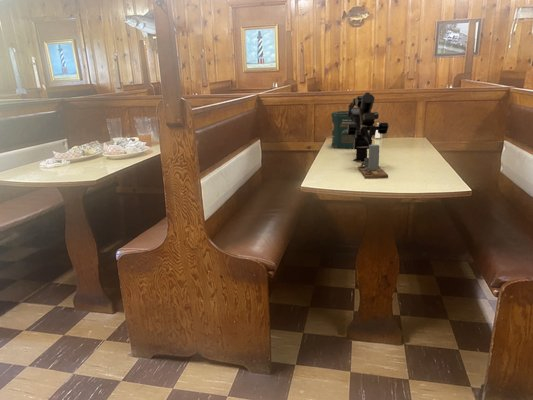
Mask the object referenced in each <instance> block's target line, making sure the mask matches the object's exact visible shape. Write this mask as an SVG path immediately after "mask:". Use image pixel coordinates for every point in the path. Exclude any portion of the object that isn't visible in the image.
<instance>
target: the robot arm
mask: <svg viewBox="0 0 533 400" xmlns="http://www.w3.org/2000/svg"><path fill="white" fill-rule="evenodd" d="M375 99H376V98H375V96H374V95H373V94H371V93H370V92H369V91H368V92H364V94H363V95H358V96H357V97H354V98H352V101H351V102H350V104H349V105H348V109H347V111H348V116H349V118H350V120H351V121H353V122H354V124H349V125H348V129H347V133H348V135H354V134H355V133H356V134H355V138H354V142H353V149H352V150H356V151H355V158H354V159H353V160H352V161H355V162H361V163H364V162H365V158H368V150H369V145H373V144H372V143H373V137H374V136H375V135H376V133H378V134H379V135H386V134H387V133H388V130H389V127H390V126H389V123H388V122H384V121H383V122H379V123H378V125H375V120H378V119H379V118H380V116H379V111H374V112H372V110H373V107H374V103H375ZM355 131H356V132H355Z"/></svg>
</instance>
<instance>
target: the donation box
mask: <svg viewBox="0 0 533 400" xmlns="http://www.w3.org/2000/svg"><path fill="white" fill-rule="evenodd" d="M349 124H354V122H353V121H351V120H350V118H349V116H348V110H338V111H333V112H331V148H333V149H339V150H342V149H344V150H354V149H353V142H354V138H355V134H356V133H355V134H354V135H348V133H347V129H348V125H349ZM355 132H356V131H355Z"/></svg>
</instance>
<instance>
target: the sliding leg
mask: <svg viewBox="0 0 533 400" xmlns="http://www.w3.org/2000/svg"><path fill="white" fill-rule="evenodd" d="M368 158H369V164H368V168H365V171H367V170H379V166H380V163H379V162H380V144H372V145H369V149H368Z"/></svg>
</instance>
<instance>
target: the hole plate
mask: <svg viewBox="0 0 533 400" xmlns="http://www.w3.org/2000/svg"><path fill="white" fill-rule="evenodd" d="M368 164H369V157H367V158H365V162H361V165H359V166H357V169H358V171H359V172H360V173H361V175H362V177H363V178H364V179H389V174H388V173H387V172H386V171H385V170H384V169H383V168H382V167H381V166H380V165H379V170H367V171H365V168H368Z"/></svg>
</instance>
